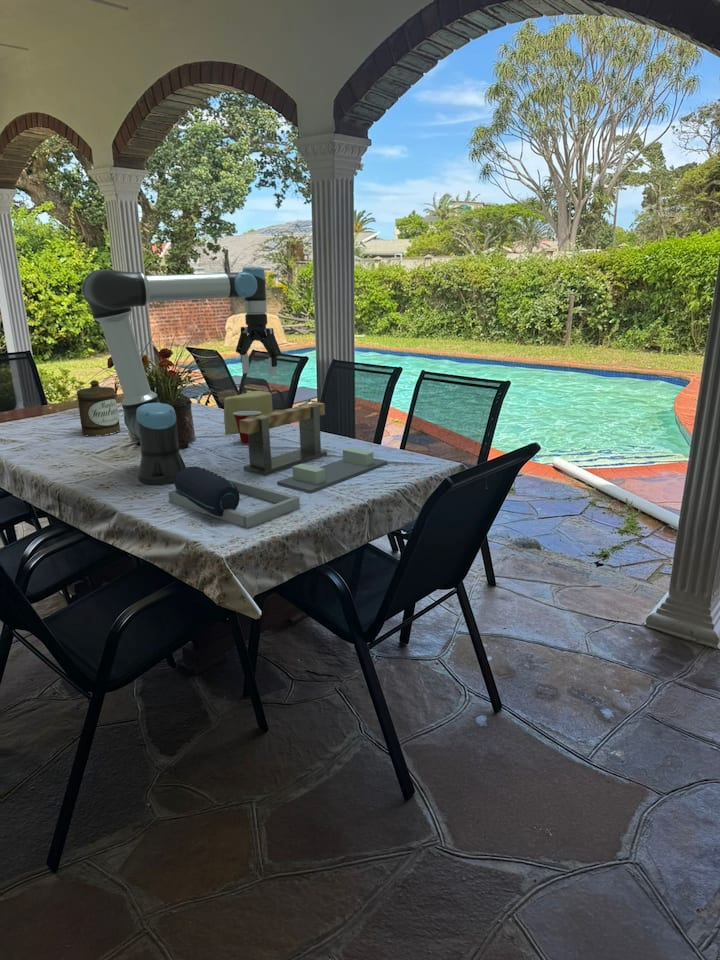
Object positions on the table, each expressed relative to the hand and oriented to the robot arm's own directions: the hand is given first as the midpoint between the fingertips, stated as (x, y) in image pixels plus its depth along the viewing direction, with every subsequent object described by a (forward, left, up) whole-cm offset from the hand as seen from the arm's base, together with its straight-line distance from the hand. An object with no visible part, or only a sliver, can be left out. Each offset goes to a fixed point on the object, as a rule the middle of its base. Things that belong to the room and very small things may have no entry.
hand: (259, 374), depth 230 cm
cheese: (+19, +30, -28) cm, 45 cm away
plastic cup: (+5, +13, -28) cm, 31 cm away
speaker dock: (-46, -38, -28) cm, 66 cm away
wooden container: (-21, +76, -28) cm, 84 cm away
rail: (-7, -20, -14) cm, 25 cm away
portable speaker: (-52, -34, -28) cm, 68 cm away
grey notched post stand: (-7, -20, -28) cm, 35 cm away
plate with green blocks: (-7, -42, -28) cm, 51 cm away
